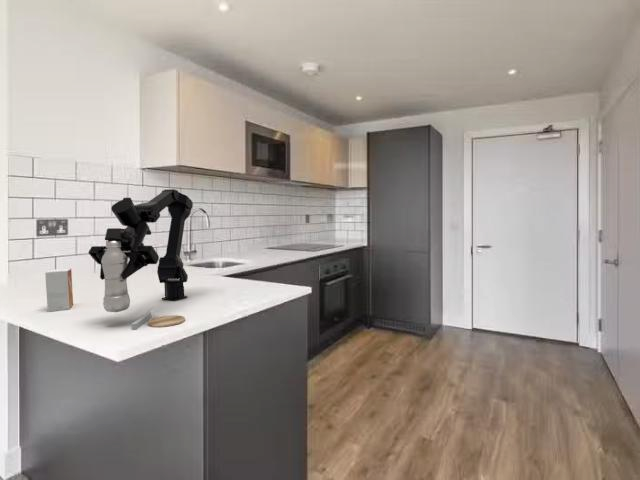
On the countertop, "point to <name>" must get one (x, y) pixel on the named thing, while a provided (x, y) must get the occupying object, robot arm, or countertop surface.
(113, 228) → the robot arm
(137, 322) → the sill
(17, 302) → the countertop surface
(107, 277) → the plastic bottle
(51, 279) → the small box
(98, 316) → the countertop surface
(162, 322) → the coaster
